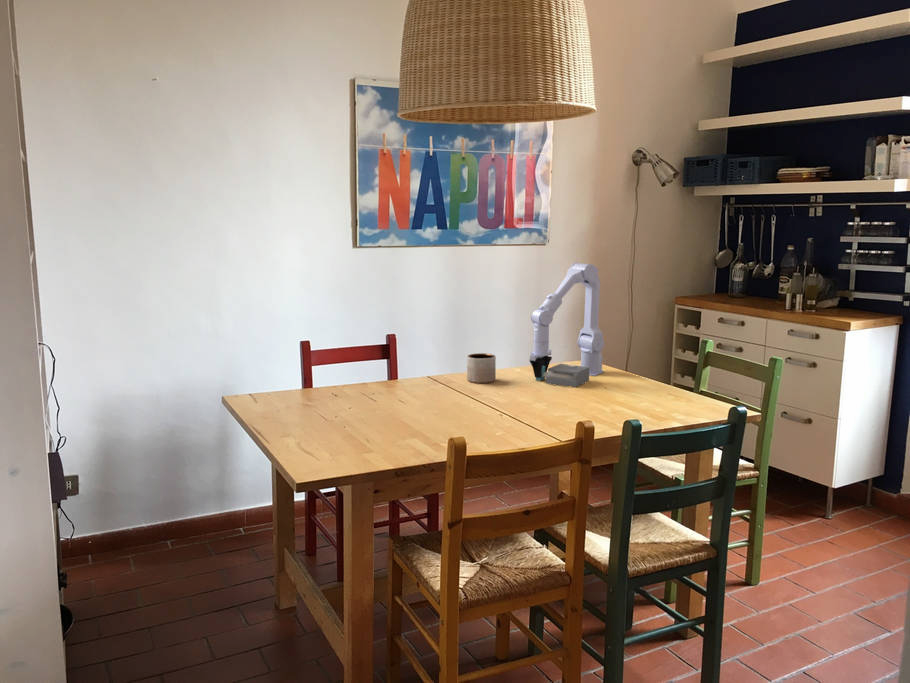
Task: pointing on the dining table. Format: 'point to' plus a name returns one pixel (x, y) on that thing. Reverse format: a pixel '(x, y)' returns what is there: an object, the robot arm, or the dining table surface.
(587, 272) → the robot arm
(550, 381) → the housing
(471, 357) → the planter
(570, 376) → the cartridge
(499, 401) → the dining table surface
